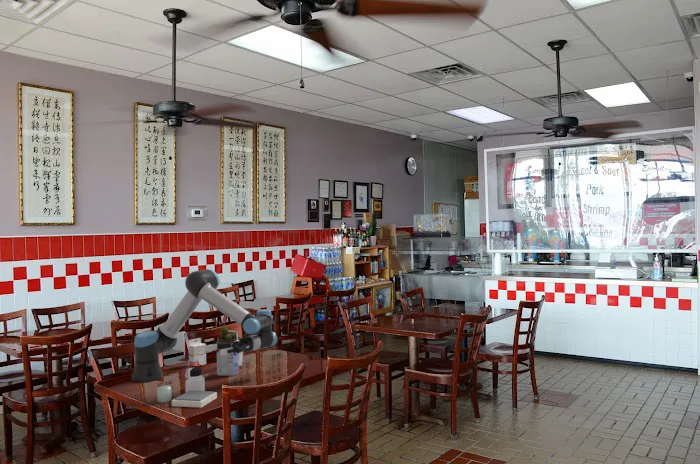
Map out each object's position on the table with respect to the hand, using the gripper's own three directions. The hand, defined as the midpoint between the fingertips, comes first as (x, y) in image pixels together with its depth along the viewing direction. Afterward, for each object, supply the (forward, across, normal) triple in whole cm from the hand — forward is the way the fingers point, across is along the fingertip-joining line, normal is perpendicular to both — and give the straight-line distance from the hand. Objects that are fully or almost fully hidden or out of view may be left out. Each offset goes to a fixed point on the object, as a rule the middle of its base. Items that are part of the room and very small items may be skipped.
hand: (212, 350), depth 259 cm
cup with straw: (-35, +32, -18) cm, 51 cm away
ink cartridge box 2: (-20, +18, -18) cm, 33 cm away
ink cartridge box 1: (-21, +50, -18) cm, 58 cm away
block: (+24, +2, -18) cm, 30 cm away
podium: (+16, -11, -18) cm, 27 cm away
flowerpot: (-44, +52, -18) cm, 70 cm away
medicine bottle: (+10, 0, -18) cm, 21 cm away
